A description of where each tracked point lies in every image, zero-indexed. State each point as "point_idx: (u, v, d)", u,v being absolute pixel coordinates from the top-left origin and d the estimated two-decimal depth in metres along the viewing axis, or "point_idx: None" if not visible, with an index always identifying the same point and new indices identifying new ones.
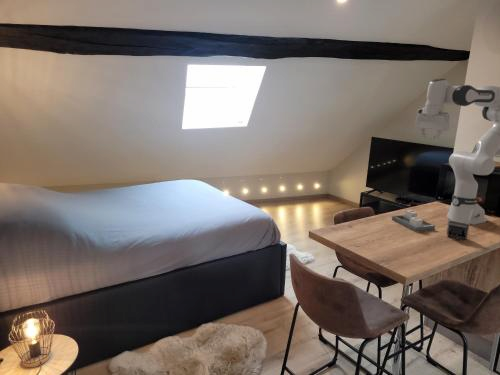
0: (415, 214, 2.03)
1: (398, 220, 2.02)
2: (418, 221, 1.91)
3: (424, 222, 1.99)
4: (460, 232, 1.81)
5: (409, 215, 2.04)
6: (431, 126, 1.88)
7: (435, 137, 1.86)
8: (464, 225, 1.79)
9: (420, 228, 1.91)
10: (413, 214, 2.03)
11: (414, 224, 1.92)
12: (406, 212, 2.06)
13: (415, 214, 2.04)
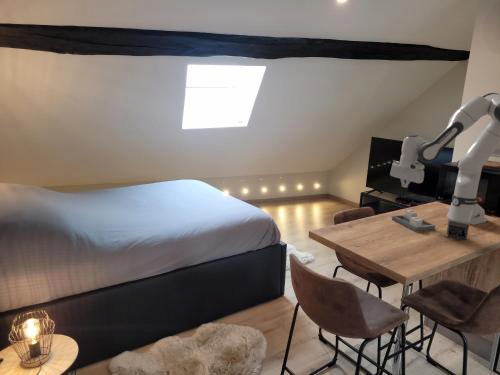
0: (415, 214, 2.03)
1: (398, 220, 2.02)
2: (418, 221, 1.91)
3: (424, 222, 1.99)
4: (460, 232, 1.81)
5: (409, 215, 2.04)
6: None
7: None
8: (464, 225, 1.79)
9: (420, 228, 1.91)
10: (413, 214, 2.03)
11: (414, 224, 1.92)
12: (406, 212, 2.06)
13: (415, 214, 2.04)
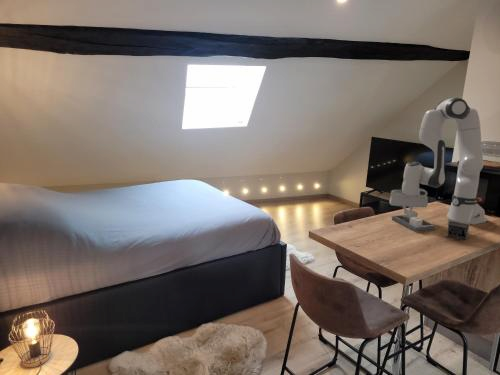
0: (416, 214, 2.03)
1: (398, 220, 2.02)
2: (418, 221, 1.91)
3: (424, 222, 1.99)
4: (460, 232, 1.81)
5: (410, 215, 2.04)
6: None
7: None
8: (464, 225, 1.79)
9: (420, 228, 1.91)
10: (414, 214, 2.03)
11: (414, 224, 1.92)
12: (407, 212, 2.06)
13: (416, 214, 2.03)
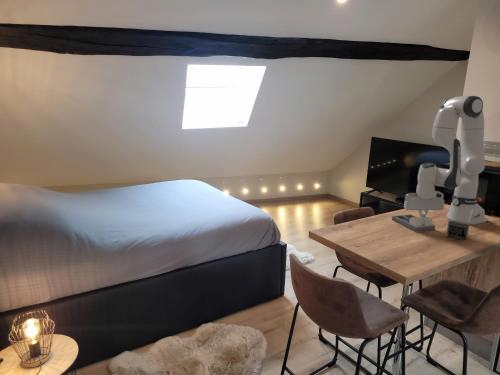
0: (430, 221, 1.93)
1: (398, 220, 2.02)
2: (418, 221, 1.91)
3: None
4: (460, 232, 1.81)
5: (424, 222, 1.94)
6: None
7: None
8: (464, 225, 1.79)
9: (420, 228, 1.91)
10: (428, 221, 1.93)
11: (414, 224, 1.92)
12: None
13: (430, 221, 1.93)
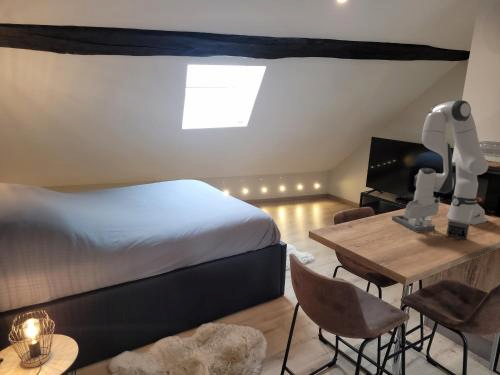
0: (430, 221, 1.93)
1: (398, 220, 2.02)
2: None
3: None
4: (460, 232, 1.81)
5: (423, 222, 1.94)
6: None
7: None
8: (464, 225, 1.79)
9: (420, 228, 1.91)
10: (427, 221, 1.93)
11: (413, 223, 1.93)
12: (420, 218, 1.96)
13: (430, 221, 1.93)
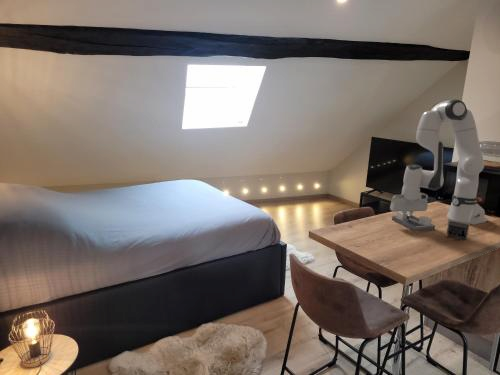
0: (430, 221, 1.93)
1: (398, 220, 2.02)
2: None
3: None
4: (460, 232, 1.81)
5: (423, 222, 1.94)
6: None
7: None
8: (464, 225, 1.79)
9: (420, 228, 1.91)
10: (427, 221, 1.93)
11: (401, 217, 2.02)
12: (420, 218, 1.96)
13: (430, 221, 1.93)
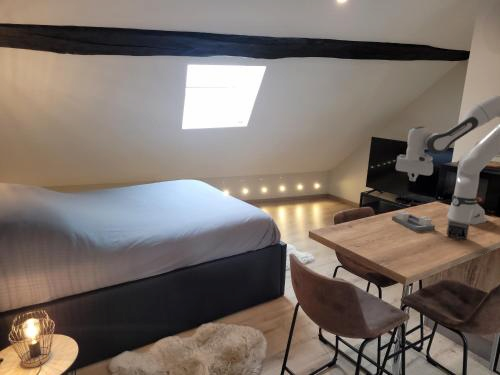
0: (430, 221, 1.93)
1: (398, 220, 2.02)
2: (404, 215, 2.01)
3: None
4: (460, 232, 1.81)
5: (423, 222, 1.94)
6: None
7: None
8: (464, 225, 1.79)
9: (420, 228, 1.91)
10: (427, 221, 1.93)
11: (401, 217, 2.02)
12: (420, 218, 1.96)
13: (430, 221, 1.93)
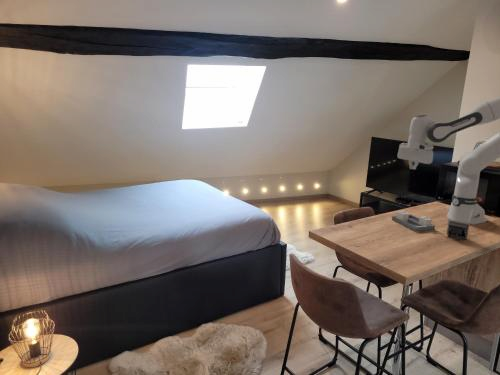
0: (430, 221, 1.93)
1: (398, 220, 2.02)
2: (404, 215, 2.01)
3: None
4: (460, 232, 1.81)
5: (423, 222, 1.94)
6: None
7: None
8: (464, 225, 1.79)
9: (420, 228, 1.91)
10: (427, 221, 1.93)
11: (401, 217, 2.02)
12: (420, 218, 1.96)
13: (430, 221, 1.93)
